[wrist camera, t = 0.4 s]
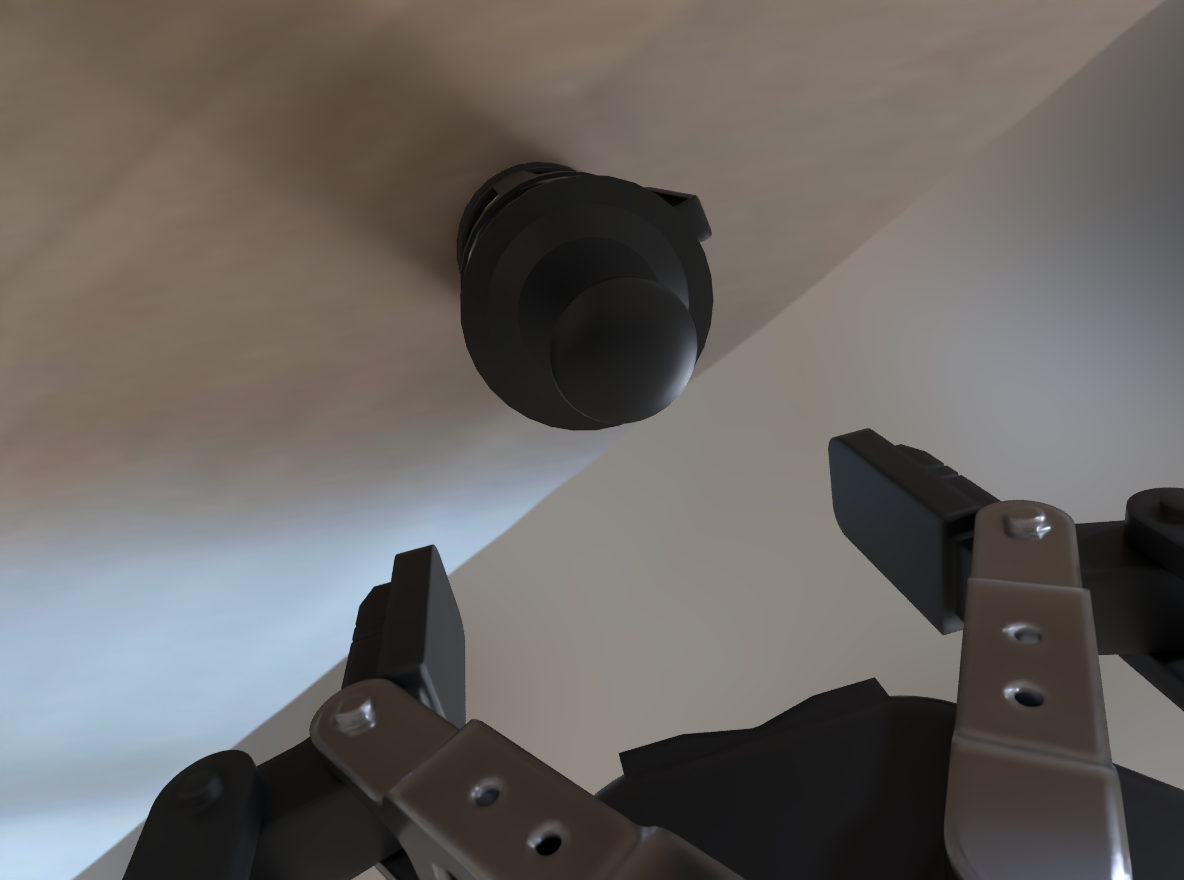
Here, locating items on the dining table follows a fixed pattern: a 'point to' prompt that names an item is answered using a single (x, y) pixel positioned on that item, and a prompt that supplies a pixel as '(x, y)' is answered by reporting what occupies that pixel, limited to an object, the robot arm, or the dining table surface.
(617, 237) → the french press
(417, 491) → the dining table surface
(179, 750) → the dining table surface
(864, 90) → the dining table surface
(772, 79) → the dining table surface
